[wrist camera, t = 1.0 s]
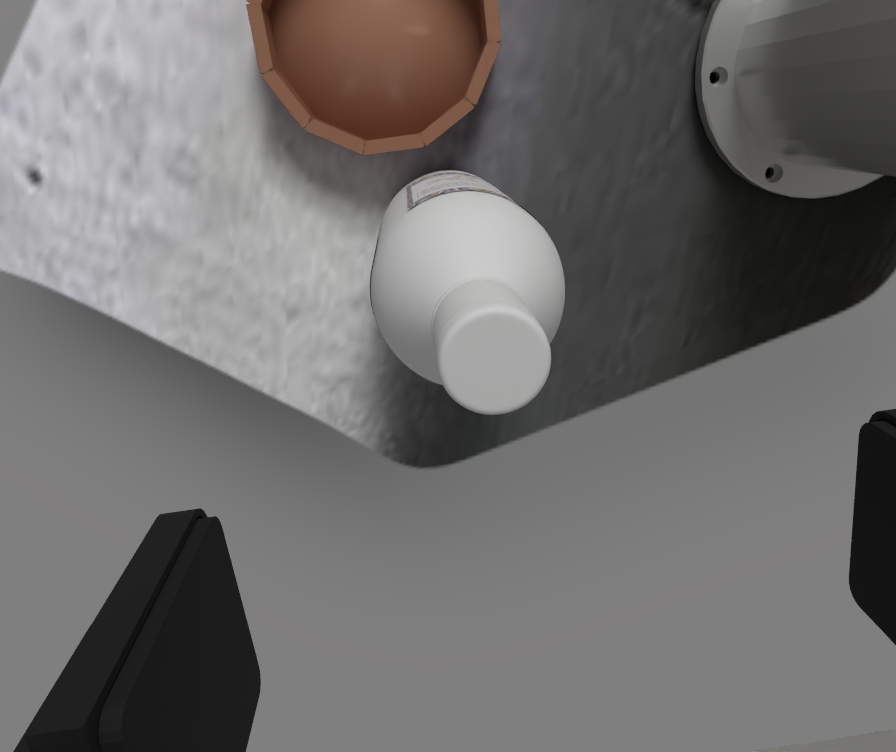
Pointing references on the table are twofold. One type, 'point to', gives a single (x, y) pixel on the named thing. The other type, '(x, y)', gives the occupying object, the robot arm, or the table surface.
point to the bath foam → (468, 290)
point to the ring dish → (376, 65)
